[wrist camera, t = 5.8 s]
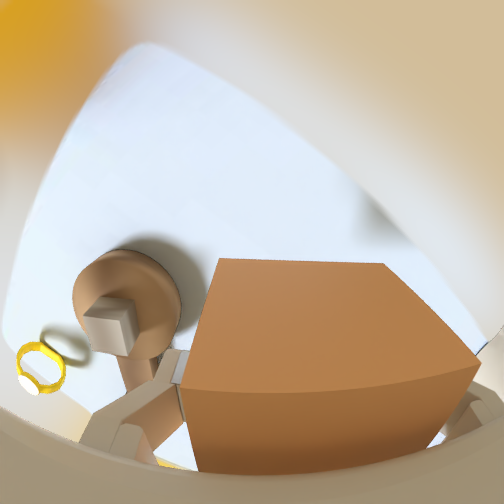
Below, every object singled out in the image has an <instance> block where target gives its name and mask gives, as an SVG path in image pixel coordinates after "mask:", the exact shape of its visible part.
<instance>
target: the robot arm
mask: <svg viewBox="0 0 504 504" xmlns="http://www.w3.org/2000/svg"><path fill="white" fill-rule="evenodd" d="M189 353H190V351H188V350H178V349H170V348H168V349H167V350H166V351H165V353H164V355H163V358H162V360H161V362H160V365H159V367H158V370H157V372H156V375H155V377H154V380H153V381H150V380H148V381H147V382H145V383H143V384H142V385H140V386H139V387H137V388H135V389H134V390H132V391H130V392H129V393H127V394H125V395H124V396H122V397H120V398H119V399H117V400H115V401H114V402H112V403H110V404H109V405H107V406H105V407H103V408H102V409H100V410H98V411H97V412H95V413H93V415H92V417H91V419H90V421H89V423H88V425H87V427H86V429H85V431H84V433H83V435H82V437H81V439H80V441H79V443H77V442H74V441H72V440H69V439H67V438H64V437H62V436H59V435H57V434H54V433H52V432H50V431H48V430H46V429H44V428H41V427H39V426H37V425H35V424H33V423H31V422H29V421H27V420H25V419H23V418H21V417H19V416H18V415H16V414H14V413H12V412H10V411H8V410H7V409H5V408H3V407H2V406H0V504H504V326H503V327H502V328H501V330H500V331H499V333H498V334H497V335H496V336H495V337H494V338H493V339H492V340H491V341H490V342H489V343H488V344H487V345H486V346H485V347H484V348H483V349H482V350H481V351H480V352H479V353H478V354H477V356H476V357H477V358H478V359H479V360H480V361H481V363H482V364H481V366H480V368H479V370H478V371H477V373H476V375H475V377H474V379H473V380H472V382H471V384H470V386H469V387H468V389H467V391H466V392H465V394H464V396H463V397H462V399H461V400H460V402H459V404H458V405H457V407H456V408H455V410H454V411H453V413H452V414H451V416H450V417H449V418H448V420H447V421H446V423H445V424H444V425H443V427H442V428H441V430H440V432H441V433H442V434H443V435H445V436H446V437H445V439H444V440H443V441H442V442H441V444H438V445H436V446H433V447H430V448H427V449H424V450H421V451H418V452H414V453H411V454H408V455H404V456H401V457H397V458H393V459H389V460H385V461H381V462H377V463H372V464H368V465H363V466H357V467H352V468H346V469H339V470H332V471H324V472H316V473H305V474H290V475H232V474H217V473H206V472H197V471H189V470H182V469H175V468H170V467H164V466H159V464H158V462H157V460H156V458H155V456H154V454H153V451H154V450H155V449H156V448H157V447H159V446H160V445H161V444H162V443H163V442H164V441H165V440H166V439H167V438H168V437H169V436H170V435H171V434H172V433H173V432H174V431H176V430H177V429H178V428H179V427H180V426H181V425H182V424H183V422H186V418H185V413H184V408H183V403H182V398H181V393H180V388H179V387H180V384H181V380H182V377H183V374H184V370H185V367H186V363H187V360H188V357H189Z"/></svg>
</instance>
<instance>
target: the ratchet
mask: <svg viewBox="0 0 504 504" xmlns="http://www.w3.org/2000/svg"><path fill="white" fill-rule="evenodd" d="M72 299H73V307H74V311H75V314H76V317H77V319H78V322H79V323H80V325H81V327H82V329H83V330H84V331H85V333H86V334H87V335H88V338H89V341H90V345H91V348H92V351H97V352H103V353H109V354H112V355H115V356H116V357H117V361H118V364H119V368H120V371H121V374H122V377H123V381H124V384H125V387H126V390H127V392H126V394H127V393H129V392H130V391H132V390H134V389H135V388H137V387H139V386H140V385H142V384H143V383H145V382H147V381H148V380H150V381H153V380H154V377H155V375H156V372H157V370H158V367H159V366H158V361H157V356H158V355H160V354H161V353H162V352H164V351H165V350H166V349H167V347H168V346H169V345H170V343H171V341H172V339H173V336H174V333H175V331H176V328H177V325H178V322H179V319H180V315H181V300H180V295H179V292H178V289H177V287H176V285H175V283H174V281H173V279H172V278H171V276H170V275H169V274H168V272H167V271H166V270H165V269H164V268H163V267H162V266H161V265H160V264H158V263H157V262H156V261H155V260H153V259H152V258H150V257H148V256H146V255H144V254H142V253H139V252H136V251H132V250H114V251H110V252H107V253H105V254H103V255H102V256H100V257H99V258H98V259H96V260H95V261H94V262H92V263H91V264H90V265H89V266H87V267H86V268H85V269H84V270H82V272H81V273H80V274H79V275H78V277H77V279H76V281H75V284H74V287H73V295H72Z"/></svg>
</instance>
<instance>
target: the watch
mask: <svg viewBox="0 0 504 504" xmlns="http://www.w3.org/2000/svg"><path fill="white" fill-rule="evenodd" d="M29 351H41V352H42V353H44V354H45V355H47V356H48V357H50V358H51V359H52V360H54V361H55V362H57V363H58V365H59V368H60V370H61V378H60V379H59V381H58V382H57V383H54V384H51V385H41V384H39V382H38V381H37V380H36V379H35V378H34V377H33V376H32V375H30V374H29V373H27V372H23V370H22V368H21V366H20V360H21V358H22V356H23V354H25V353H27V352H29ZM17 372H18V374H19V377H18V378H19V382H20V383H21V385H22V386H23V387H24V388H25V389H26V390H27V391H28V392H29V393H31V394H33V395H39V393H47V394H48V393H52V392H55V391H57V390H58V389H60V387H61V386H62V384H63V383H64V380H65V376H66V366H65V363H64V361H63V359H62V357H61V356H60V355H58V354H57V353H55V352H54V351H52V350H51V349H49V348H48V347H47V346H45V345H44V344H43V343H41V342H29V343H27V344H25V345H23V346H21V348H20V350H19V351H18V353H17Z"/></svg>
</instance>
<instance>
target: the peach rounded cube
mask: <svg viewBox="0 0 504 504" xmlns="http://www.w3.org/2000/svg"><path fill="white" fill-rule="evenodd" d="M481 364H482V363H481V361H480V360H479V359H478V358H477V357H476V356H475V355H474V353H473V352H472V351H471V350H470V349H469V348H468V347H467V346H466V345H465V344H464V342H463V341H462V340H461V339H460V338H459V337H458V336H457V335H456V334H455V333H454V332H453V331H452V330H451V328H450V327H449V326H448V325H447V324H446V323H445V322H444V321H443V320H442V319H441V318H440V317H439V316H438V315H437V314H436V313H435V312H434V311H433V310H432V309H431V308H430V307H429V306H428V305H427V304H426V303H425V302H424V301H423V300H422V299H421V298H420V297H419V296H418V295H417V294H416V293H415V292H414V291H413V290H412V289H411V288H409V287H408V286H407V285H406V284H405V283H404V282H403V281H402V280H401V279H400V278H399V277H398V276H397V275H396V274H395V273H393V272H392V271H391V270H390V269H389V268H388V267H387V266H386V265H385V264H384V263H352V262H317V261H286V260H256V259H228V258H219V260H218V263H217V266H216V270H215V273H214V276H213V279H212V282H211V285H210V288H209V291H208V294H207V298H206V301H205V304H204V307H203V310H202V314H201V317H200V320H199V323H198V327H197V330H196V333H195V336H194V340H193V343H192V346H191V350H190V353H189V357H188V360H187V363H186V367H185V370H184V374H183V377H182V380H181V384H180V387H179V388H180V393H181V398H182V403H183V408H184V413H185V418H186V423H187V427H188V431H189V436H190V440H191V444H192V448H193V452H194V456H195V460H196V464H197V468H198V471H199V472H206V473H217V474H232V475H290V474H305V473H316V472H324V471H332V470H339V469H346V468H352V467H357V466H363V465H368V464H372V463H377V462H381V461H385V460H389V459H393V458H397V457H401V456H404V455H408V454H411V453H414V452H418V451H421V450H424V449H426V448H427V446H428V445H429V444H430V443H431V441H432V440H433V439H434V437H435V436H436V435H437V434H438V432H439V431H440V430H441V428H442V427H443V425H444V424H445V423H446V421H447V420H448V418H449V417H450V416H451V414H452V413H453V411H454V410H455V408H456V407H457V405H458V404H459V402H460V400H461V399H462V397H463V396H464V394H465V392H466V391H467V389H468V387H469V386H470V384H471V382H472V380H473V379H474V377H475V375H476V373H477V371H478V370H479V368H480V366H481Z"/></svg>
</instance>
